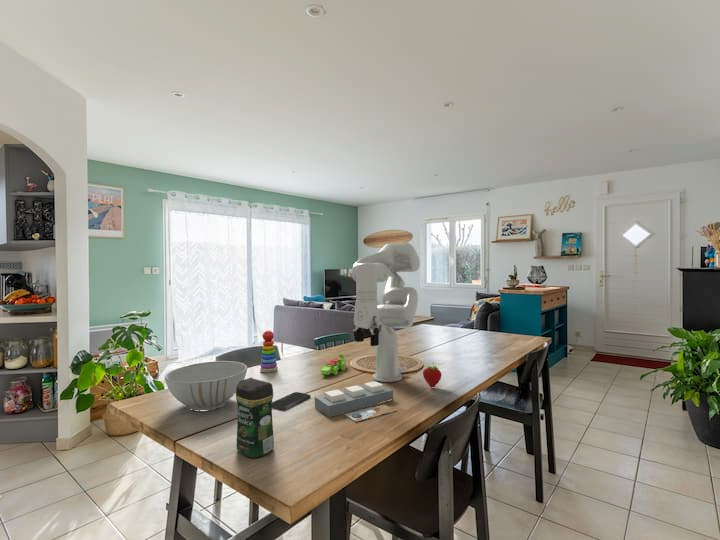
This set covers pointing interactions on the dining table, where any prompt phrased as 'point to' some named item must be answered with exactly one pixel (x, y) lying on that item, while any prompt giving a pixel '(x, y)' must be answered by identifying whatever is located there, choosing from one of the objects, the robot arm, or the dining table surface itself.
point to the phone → (290, 401)
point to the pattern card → (361, 413)
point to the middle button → (354, 391)
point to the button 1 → (334, 395)
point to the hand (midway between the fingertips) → (366, 343)
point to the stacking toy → (268, 354)
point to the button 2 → (373, 386)
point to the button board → (352, 402)
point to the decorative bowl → (205, 383)
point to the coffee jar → (254, 417)
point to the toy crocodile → (334, 366)
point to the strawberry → (432, 375)
